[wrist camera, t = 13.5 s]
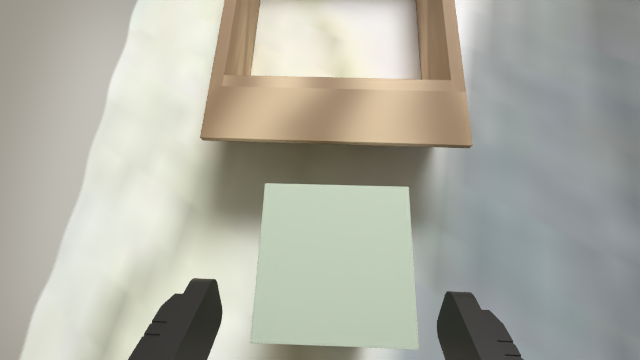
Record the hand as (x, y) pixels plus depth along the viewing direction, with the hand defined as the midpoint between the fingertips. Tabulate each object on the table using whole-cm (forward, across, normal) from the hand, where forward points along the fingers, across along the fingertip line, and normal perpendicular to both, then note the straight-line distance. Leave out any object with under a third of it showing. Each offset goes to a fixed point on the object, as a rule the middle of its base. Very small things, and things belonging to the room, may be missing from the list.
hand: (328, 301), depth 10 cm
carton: (+21, 0, -8) cm, 22 cm away
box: (+7, 0, +5) cm, 9 cm away
